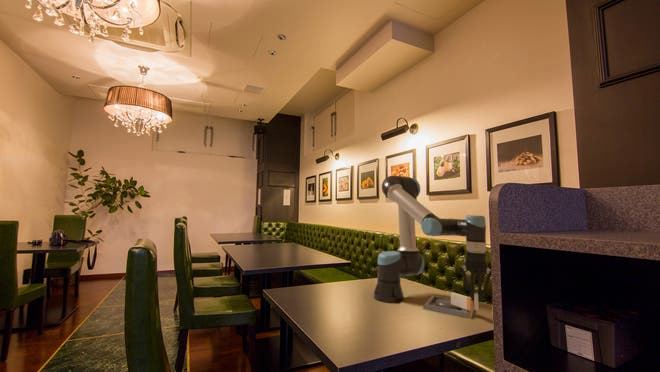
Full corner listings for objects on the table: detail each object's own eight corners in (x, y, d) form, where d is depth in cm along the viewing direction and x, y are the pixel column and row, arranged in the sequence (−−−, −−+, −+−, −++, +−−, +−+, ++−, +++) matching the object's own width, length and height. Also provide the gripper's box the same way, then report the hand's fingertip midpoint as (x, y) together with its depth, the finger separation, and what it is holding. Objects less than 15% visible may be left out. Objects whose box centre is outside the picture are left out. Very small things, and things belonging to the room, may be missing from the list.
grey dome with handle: (430, 305, 133) (430, 289, 134) (446, 302, 139) (446, 287, 139) (463, 318, 119) (462, 299, 119) (479, 314, 124) (479, 297, 124)
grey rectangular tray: (421, 311, 128) (421, 304, 129) (430, 301, 144) (430, 294, 144) (471, 321, 118) (471, 313, 119) (474, 309, 134) (474, 302, 134)
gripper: (458, 251, 121) (458, 308, 119) (493, 254, 114) (494, 315, 112) (460, 249, 127) (460, 303, 125) (493, 252, 121) (494, 310, 119)
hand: (476, 309), depth 119 cm, fingers closed
